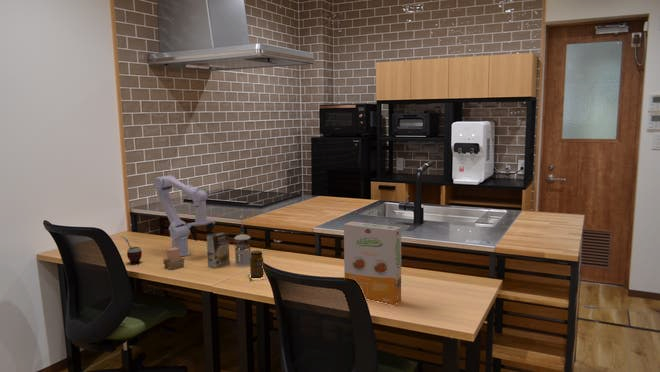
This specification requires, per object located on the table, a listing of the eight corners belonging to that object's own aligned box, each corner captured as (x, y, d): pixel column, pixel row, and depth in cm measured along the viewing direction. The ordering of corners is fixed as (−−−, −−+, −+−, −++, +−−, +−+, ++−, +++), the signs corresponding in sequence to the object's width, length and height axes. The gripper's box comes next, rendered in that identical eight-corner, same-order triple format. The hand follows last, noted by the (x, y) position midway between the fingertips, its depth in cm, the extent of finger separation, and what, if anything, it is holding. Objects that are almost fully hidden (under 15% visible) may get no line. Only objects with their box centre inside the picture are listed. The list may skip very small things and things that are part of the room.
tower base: (164, 268, 256) (164, 263, 256) (178, 265, 260) (177, 260, 260) (170, 271, 251) (170, 266, 250) (183, 268, 255) (183, 263, 255)
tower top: (163, 264, 255) (163, 259, 254) (175, 260, 260) (175, 256, 260) (172, 266, 250) (171, 261, 250) (184, 263, 256) (183, 258, 255)
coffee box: (215, 268, 252) (214, 236, 250) (207, 266, 256) (205, 234, 254) (230, 264, 259) (228, 233, 257) (222, 262, 263) (220, 231, 261)
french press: (239, 268, 252) (237, 218, 248) (228, 263, 261) (225, 215, 257) (257, 264, 258) (255, 215, 254) (245, 259, 267) (243, 212, 263)
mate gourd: (145, 262, 266) (143, 233, 264) (133, 266, 259) (131, 237, 256) (134, 260, 269) (132, 232, 267) (122, 264, 262) (120, 236, 260)
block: (167, 258, 255) (166, 248, 254) (175, 256, 258) (175, 247, 257) (171, 260, 252) (170, 250, 251) (179, 258, 255) (179, 248, 254)
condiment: (263, 274, 242) (262, 249, 240) (266, 279, 234) (265, 254, 232) (248, 275, 240) (247, 250, 239) (250, 281, 232) (249, 255, 230)
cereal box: (401, 301, 204) (401, 227, 200) (394, 306, 199) (393, 230, 195) (352, 291, 217) (351, 221, 212) (344, 295, 211) (343, 224, 207)
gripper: (190, 216, 261) (192, 242, 262) (216, 212, 270) (218, 238, 272) (185, 214, 266) (186, 240, 268) (210, 211, 275) (212, 235, 277)
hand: (202, 239), depth 270 cm, fingers open, 7 cm apart
